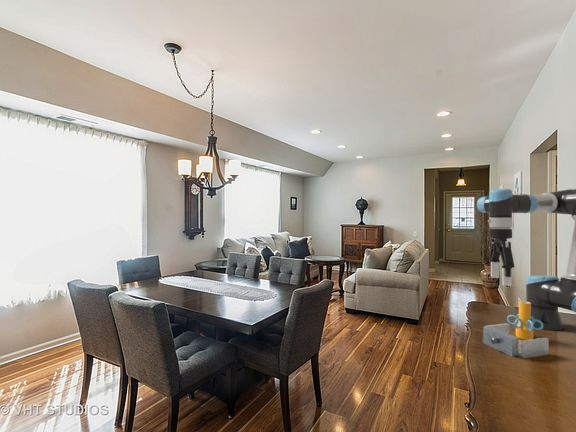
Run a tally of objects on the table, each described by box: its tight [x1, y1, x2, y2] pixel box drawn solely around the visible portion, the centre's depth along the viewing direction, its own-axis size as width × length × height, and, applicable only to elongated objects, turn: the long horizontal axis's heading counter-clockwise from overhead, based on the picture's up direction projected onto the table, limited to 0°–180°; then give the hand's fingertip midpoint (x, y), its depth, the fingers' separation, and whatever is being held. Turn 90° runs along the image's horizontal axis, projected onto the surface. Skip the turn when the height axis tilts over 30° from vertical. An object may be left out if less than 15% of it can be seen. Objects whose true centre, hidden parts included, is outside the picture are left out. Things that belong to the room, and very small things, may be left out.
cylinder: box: [506, 300, 544, 340], centre depth 128 cm, size 12×10×15 cm
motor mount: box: [482, 322, 550, 359], centre depth 118 cm, size 17×16×6 cm
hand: (500, 281), depth 122 cm, fingers open, 13 cm apart
